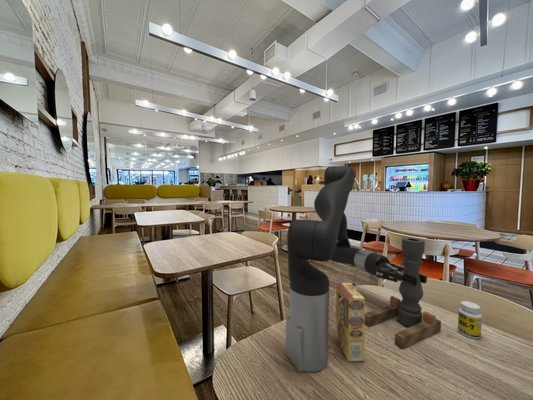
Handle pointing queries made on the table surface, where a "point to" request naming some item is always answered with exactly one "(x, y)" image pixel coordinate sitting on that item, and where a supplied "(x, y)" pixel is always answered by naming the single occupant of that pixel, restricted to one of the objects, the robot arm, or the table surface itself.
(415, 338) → the guide rails
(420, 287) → the candle holder
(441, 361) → the table surface
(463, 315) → the supplement bottle
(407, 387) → the table surface
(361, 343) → the candy box
